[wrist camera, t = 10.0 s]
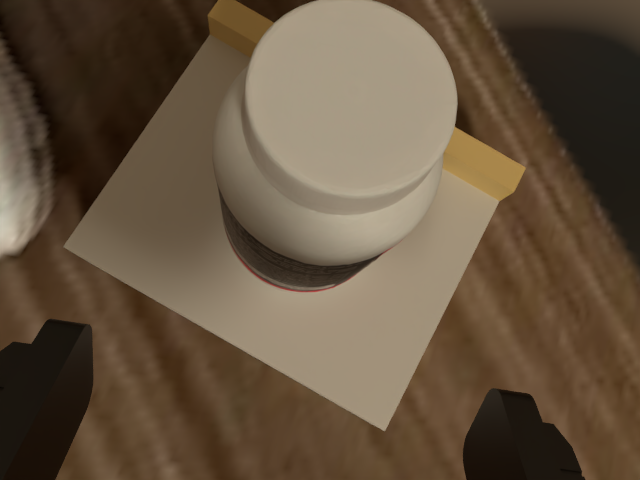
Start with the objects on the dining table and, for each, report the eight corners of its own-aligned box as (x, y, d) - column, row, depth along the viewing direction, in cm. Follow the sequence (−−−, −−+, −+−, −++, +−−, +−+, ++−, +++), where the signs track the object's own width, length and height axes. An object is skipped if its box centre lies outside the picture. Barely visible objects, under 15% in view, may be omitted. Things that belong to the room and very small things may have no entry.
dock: (84, 259, 21) (51, 239, 18) (226, 49, 24) (223, -7, 20) (369, 422, 21) (393, 435, 18) (483, 196, 24) (525, 167, 20)
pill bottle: (375, 302, 20) (493, 251, 10) (215, 288, 19) (183, 222, 10) (383, 150, 21) (495, -22, 11) (231, 134, 20) (217, -62, 11)
